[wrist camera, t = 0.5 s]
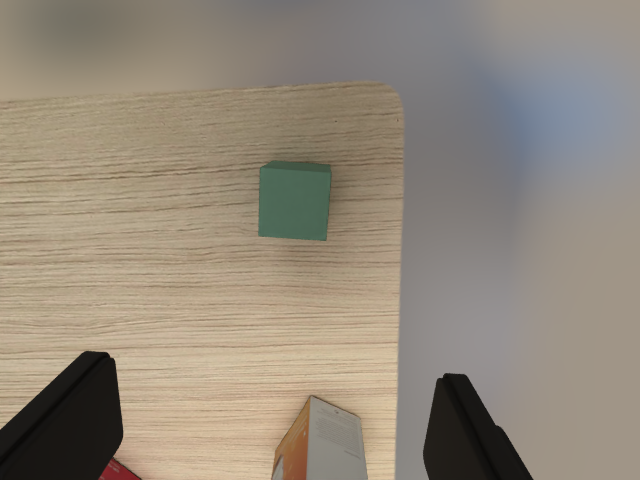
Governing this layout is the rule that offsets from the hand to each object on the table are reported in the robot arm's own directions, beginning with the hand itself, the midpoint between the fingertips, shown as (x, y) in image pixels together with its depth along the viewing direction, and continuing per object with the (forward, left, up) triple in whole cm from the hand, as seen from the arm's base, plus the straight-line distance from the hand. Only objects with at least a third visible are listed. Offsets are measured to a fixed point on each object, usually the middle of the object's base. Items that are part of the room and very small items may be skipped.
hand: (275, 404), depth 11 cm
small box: (+21, +2, -21) cm, 29 cm away
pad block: (-3, -1, -20) cm, 21 cm away
